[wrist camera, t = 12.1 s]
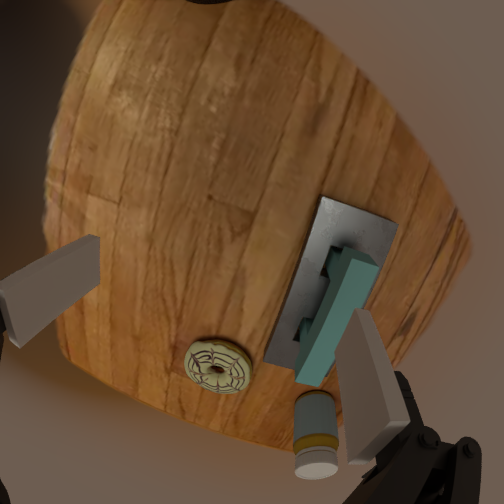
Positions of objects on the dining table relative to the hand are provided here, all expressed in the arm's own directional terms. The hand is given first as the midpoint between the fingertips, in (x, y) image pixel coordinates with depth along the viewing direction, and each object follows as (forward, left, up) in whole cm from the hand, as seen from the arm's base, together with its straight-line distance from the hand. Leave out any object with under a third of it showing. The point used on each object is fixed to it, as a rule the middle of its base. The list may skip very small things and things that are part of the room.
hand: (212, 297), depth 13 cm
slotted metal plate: (+7, +11, -23) cm, 27 cm away
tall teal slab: (+8, +11, -23) cm, 27 cm away
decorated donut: (+24, 0, -24) cm, 34 cm away
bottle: (+28, +18, -23) cm, 41 cm away
